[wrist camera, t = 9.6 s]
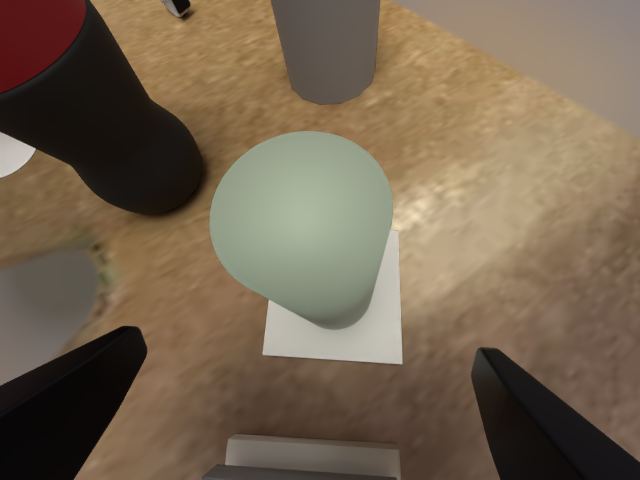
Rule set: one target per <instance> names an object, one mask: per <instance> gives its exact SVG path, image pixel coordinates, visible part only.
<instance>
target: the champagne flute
mask: <svg viewBox="0 0 640 480" xmlns="http://www.w3.org/2000/svg"><path fill="white" fill-rule="evenodd" d="M35 150H36V149H35V148H33V147H31V146H29V145H27V144H25V143H23V142H21V141H18V140H16V139H14V138H12V137H10V136H8V135H6V134H3V133H1V132H0V178H1V177H4V176H7V175H9V174H11V173H13V172H15V171H17V170H18V169H20V168H21V167H22V166H23V165H24V164H25V163H26V162H27V161H28V160H29V159H30V158H31V157H32V155H33V154H34V152H35Z"/></svg>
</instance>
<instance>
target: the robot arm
mask: <svg viewBox="0 0 640 480" xmlns="http://www.w3.org/2000/svg"><path fill="white" fill-rule="evenodd" d="M146 356H147V346H146V343H145V341H144V338H143V335H142V332H141V330H140V329H139V328H138V327H136V326H122V327H119V328H117V329H115V330H113V331H111V332H109V333H107V334H105V335H103V336H101V337H99V338H97V339H95V340H93V341H91V342H89V343H87V344H85V345H83V346H81V347H78V348H76V349H74V350H72V351H70V352H68V353H66V354H64V355H62V356H60V357H58V358H56V359H54V360H52V361H50V362H48V363H46V364H44V365H42V366H40V367H38V368H36V369H33V370H31V371H29V372H27V373H25V374H23V375H21V376H19V377H17V378H15V379H13V380H11V381H9V382H7V383H5V384H3V385H1V386H0V480H74V478H75V477H76V475H77V474H78V472H79V471H80V469H81V467H82V466H83V464H84V463H85V461H86V460H87V458H88V456H89V455H90V453H91V452H92V450H93V449H94V447H95V446H96V444H97V442H98V441H99V439H100V438H101V436H102V435H103V433H104V432H105V430H106V428H107V427H108V425H109V424H110V422H111V421H112V419H113V417H114V416H115V414H116V412H117V411H118V409H119V407H120V405H121V404H122V402H123V400H124V398H125V396H126V394H127V392H128V390H129V388H130V387H131V385H132V383H133V381H134V379H135V377H136V375H137V373H138V371H139V370H140V368H141V366H142V364H143V362H144V360H145V358H146ZM471 377H472V383H473V387H474V391H475V395H476V399H477V402H478V406H479V410H480V414H481V418H482V422H483V426H484V430H485V434H486V438H487V441H488V445H489V448H490V451H491V454H492V457H493V460H494V463H495V466H496V468H497V471H498V474H499V477H500V479H501V480H640V462H639V461H638V460H636V459H635V458H634V457H633V456H631V455H630V454H629V453H628V452H626V451H625V450H624V449H623V448H621V447H620V446H619V445H618V444H616V443H615V442H614V441H613V440H611V439H610V438H609V437H608V436H606V435H605V434H604V433H603V432H601V431H600V430H599V429H598V428H596V427H595V426H594V425H593V424H591V423H590V422H589V421H588V420H586V419H585V418H584V417H583V416H581V415H580V414H579V413H578V412H576V411H575V410H574V409H573V408H571V407H570V406H569V405H568V404H566V403H565V402H564V401H563V400H561V399H560V398H559V397H558V396H556V395H555V394H554V393H553V392H551V391H550V390H549V389H548V388H546V387H545V386H544V385H543V384H541V383H540V382H539V381H538V380H536V379H535V378H534V377H533V376H531V375H530V374H529V373H528V372H526V371H525V370H524V369H523V368H521V367H520V366H519V365H518V364H516V363H515V362H514V361H513V360H511V359H510V358H509V357H508V356H506V355H505V354H504V353H503V352H501V351H500V350H498V349H497V348H488V347H480V348H478V349H477V351H476V355H475V359H474V363H473V367H472V373H471Z"/></svg>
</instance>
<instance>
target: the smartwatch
mask: <svg viewBox="0 0 640 480" xmlns="http://www.w3.org/2000/svg"><path fill="white" fill-rule="evenodd" d="M160 1H161V2H162V3H164V4H165V6H166V7H167V8H168V9H169V10H170V11H171V12H172V13H173V14H174V15H175V16H177V17H181V16H183V15H184V14H185V13H186V12H187V11H188V10H189V7H190V1H189V0H160Z"/></svg>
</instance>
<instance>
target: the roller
mask: <svg viewBox="0 0 640 480" xmlns="http://www.w3.org/2000/svg"><path fill="white" fill-rule="evenodd" d="M392 218H393V200H392V193H391V189H390V186H389V183H388V180H387V178H386V176H385V174H384V172H383V170H382V169H381V167H380V166H379V164H378V163H377V162H376V161H375V159H374V158H373V157H372V156H371V155H370V154H369V153H368V152H366V151H365V150H364V149H363V148H362V147H360V146H358V145H357V144H355V143H354V142H352V141H350V140H348V139H346V138H343V137H340V136H337V135H334V134H330V133H325V132H317V131H300V132H292V133H287V134H283V135H279V136H276V137H273V138H270V139H268V140H266V141H264V142H262V143H260V144H258V145H257V146H255V147H253V148H252V149H250V150H249V151H247V152H246V153H245V154H243V155H242V156H241V157H240V158H239V159H238V160H237V161H236V162H235V163H234V164H233V165H232V166H231V167H230V169H229V170H228V171H227V172H226V174H225V175H224V177H223V178H222V180H221V182H220V184H219V186H218V188H217V190H216V192H215V195H214V198H213V201H212V205H211V210H210V220H209V222H210V234H211V240H212V244H213V246H214V249H215V252H216V254H217V256H218V258H219V260H220V262H221V263H222V265H223V266H224V267H225V269H226V270H227V271H228V272H229V273H230V274H231V275H232V276H233V277H234V278H235V279H236V280H237V281H238V282H240V283H241V284H242V285H244V286H245V287H247V288H249V289H251V290H252V291H254V292H256V293H258V294H260V295H262V296H263V297H265V298H267V299H269V300H271V301H273V302H274V303H276V304H278V305H280V306H282V307H284V308H286V309H287V310H289V311H291V312H293V313H295V314H297V315H298V316H300V317H302V318H304V319H306V320H308V321H309V322H311V323H313V324H315V325H317V326H319V327H321V328H324V329H329V330H339V329H344V328H347V327H350V326H351V325H353V324H355V323H356V322H358V321H359V320H360V319H361V318H362V317H363V316H364V314H365V313H366V311H367V310H368V307H369V305H370V302H371V298H372V295H373V291H374V287H375V284H376V280H377V276H378V273H379V269H380V266H381V262H382V258H383V255H384V251H385V247H386V244H387V240H388V236H389V233H390V229H391V225H392Z"/></svg>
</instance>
